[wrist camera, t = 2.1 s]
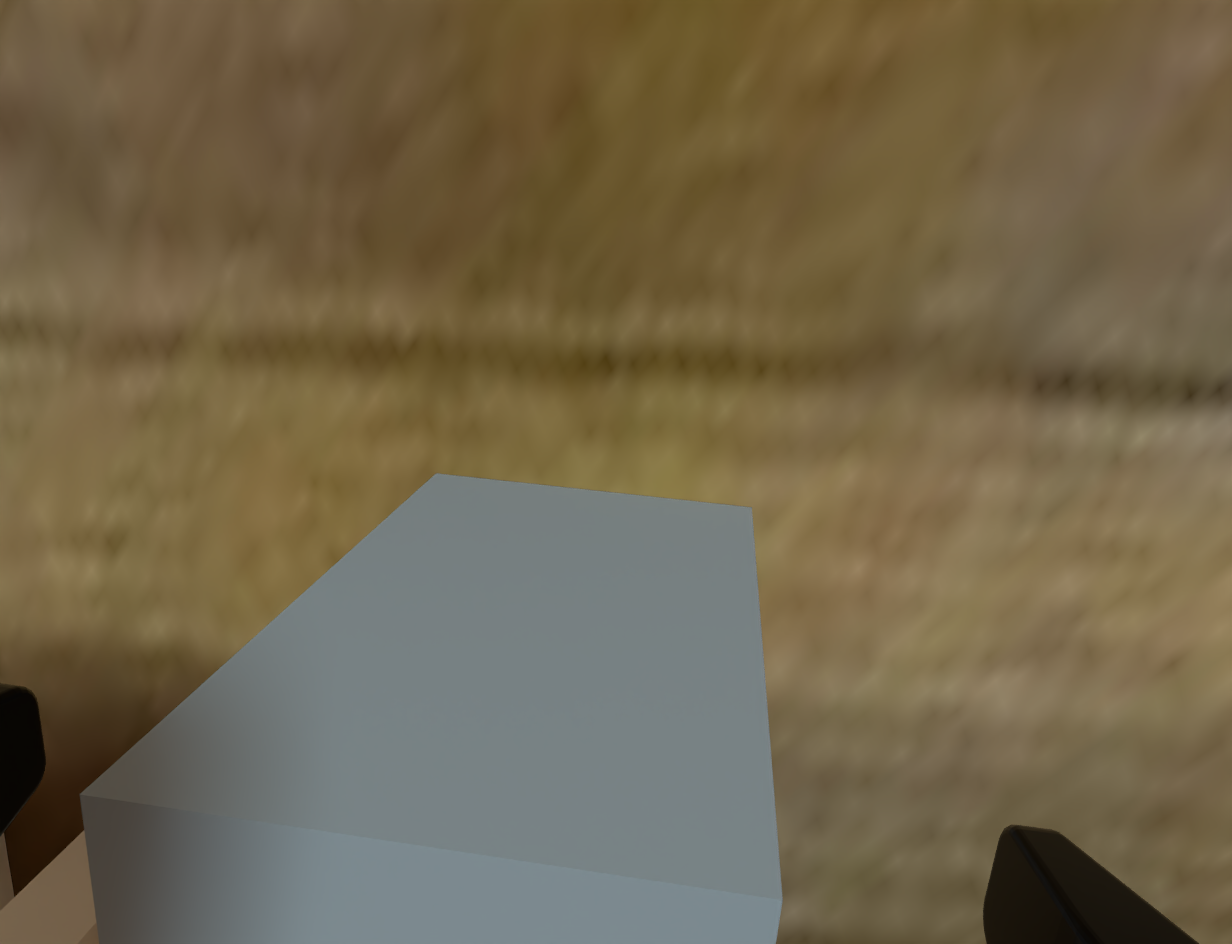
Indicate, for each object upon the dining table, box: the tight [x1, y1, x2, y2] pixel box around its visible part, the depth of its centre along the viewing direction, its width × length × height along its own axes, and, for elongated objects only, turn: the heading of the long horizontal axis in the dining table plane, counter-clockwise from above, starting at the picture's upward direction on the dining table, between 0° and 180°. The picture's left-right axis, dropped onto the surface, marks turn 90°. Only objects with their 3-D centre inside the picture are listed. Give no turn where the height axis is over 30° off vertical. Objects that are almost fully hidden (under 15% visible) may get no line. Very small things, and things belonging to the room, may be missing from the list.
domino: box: [80, 474, 782, 944], centre depth 10 cm, size 2×5×8 cm, turn 86°
